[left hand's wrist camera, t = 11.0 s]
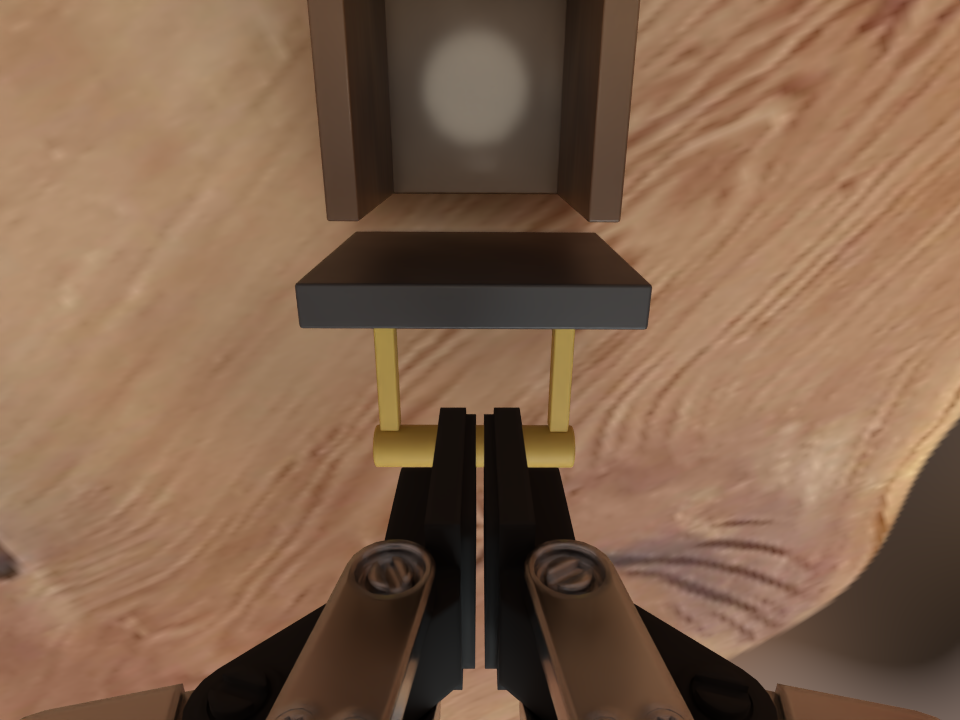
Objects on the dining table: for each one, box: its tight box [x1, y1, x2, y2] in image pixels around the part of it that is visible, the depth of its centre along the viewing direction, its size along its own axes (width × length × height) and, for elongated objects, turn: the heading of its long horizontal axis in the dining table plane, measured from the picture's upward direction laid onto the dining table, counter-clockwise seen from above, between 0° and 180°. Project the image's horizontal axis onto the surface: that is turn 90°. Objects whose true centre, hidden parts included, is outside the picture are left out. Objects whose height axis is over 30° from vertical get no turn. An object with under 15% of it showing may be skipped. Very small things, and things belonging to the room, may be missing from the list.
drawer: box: [295, 0, 652, 467], centre depth 16 cm, size 24×9×8 cm, turn 0°
